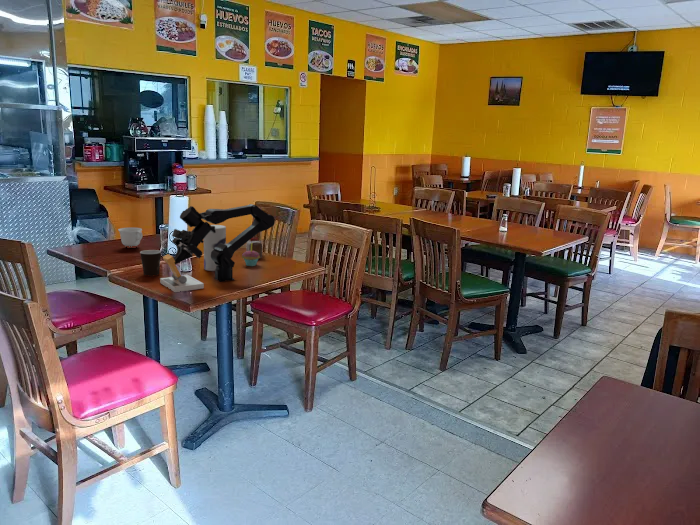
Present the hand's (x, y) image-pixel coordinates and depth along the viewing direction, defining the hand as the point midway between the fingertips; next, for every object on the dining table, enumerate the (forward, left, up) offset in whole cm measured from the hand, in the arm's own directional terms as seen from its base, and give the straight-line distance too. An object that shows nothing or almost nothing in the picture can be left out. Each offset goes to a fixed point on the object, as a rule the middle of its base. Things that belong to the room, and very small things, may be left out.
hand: (173, 263), depth 224 cm
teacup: (-9, -82, -10) cm, 83 cm away
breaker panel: (-3, 0, -10) cm, 10 cm away
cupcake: (-45, -19, -10) cm, 50 cm away
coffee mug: (0, -25, -10) cm, 27 cm away
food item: (-57, -37, -10) cm, 68 cm away
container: (-27, -20, -10) cm, 35 cm away
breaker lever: (-2, 0, -7) cm, 7 cm away
